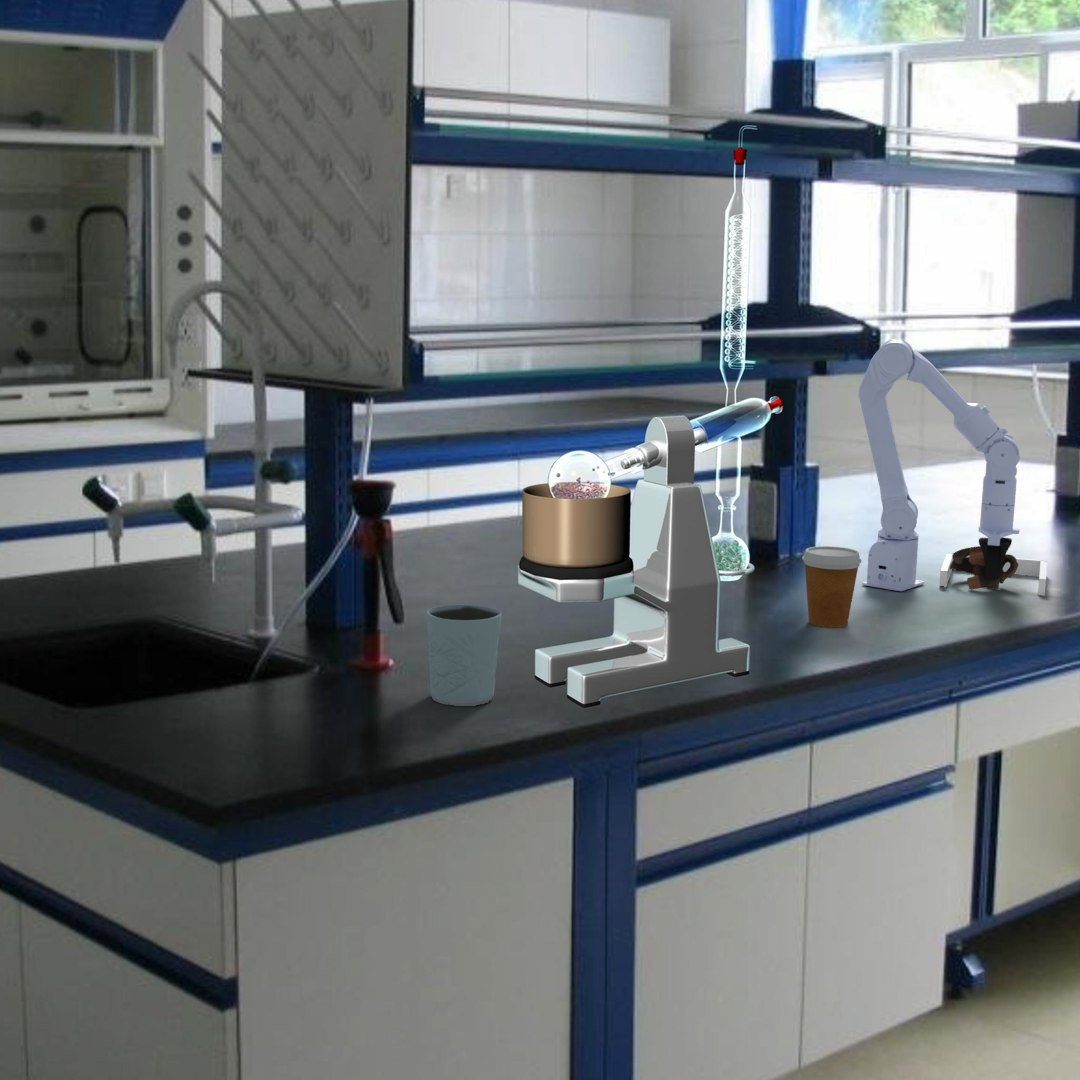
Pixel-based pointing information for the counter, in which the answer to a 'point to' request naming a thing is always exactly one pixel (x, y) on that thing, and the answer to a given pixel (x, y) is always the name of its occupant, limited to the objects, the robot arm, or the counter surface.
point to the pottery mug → (980, 567)
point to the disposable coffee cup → (830, 584)
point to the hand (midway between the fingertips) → (992, 578)
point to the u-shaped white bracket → (1024, 568)
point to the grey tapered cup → (463, 652)
